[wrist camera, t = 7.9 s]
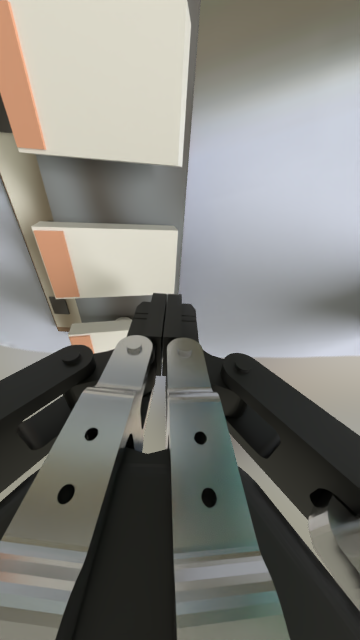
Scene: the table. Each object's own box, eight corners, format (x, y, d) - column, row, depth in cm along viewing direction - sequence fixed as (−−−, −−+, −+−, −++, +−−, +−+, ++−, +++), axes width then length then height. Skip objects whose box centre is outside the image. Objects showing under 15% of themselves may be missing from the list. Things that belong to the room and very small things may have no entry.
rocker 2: (171, 223, 16) (178, 231, 14) (169, 281, 19) (174, 294, 17) (43, 218, 14) (30, 227, 12) (63, 284, 17) (55, 300, 15)
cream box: (167, 312, 21) (172, 327, 19) (166, 347, 24) (170, 363, 22) (73, 318, 19) (67, 336, 17) (84, 355, 22) (80, 374, 20)
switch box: (194, 45, 14) (201, -17, 9) (173, 332, 29) (173, 360, 25) (-49, 14, 13) (-167, -70, 9) (61, 326, 28) (40, 354, 24)
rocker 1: (192, 35, 9) (186, -6, 7) (183, 167, 12) (177, 165, 10) (17, 28, 10) (-34, -10, 8) (48, 156, 13) (16, 151, 11)
